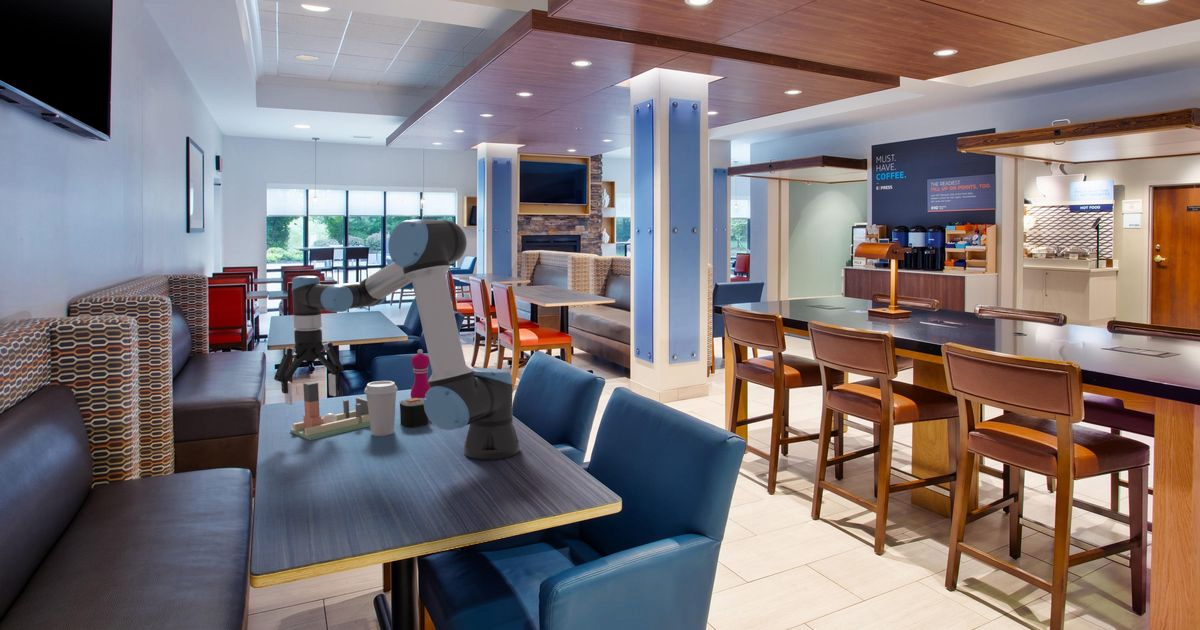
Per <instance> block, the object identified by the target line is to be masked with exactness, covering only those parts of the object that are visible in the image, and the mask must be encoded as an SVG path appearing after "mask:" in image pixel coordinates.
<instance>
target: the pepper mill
mask: <svg viewBox="0 0 1200 630" xmlns="http://www.w3.org/2000/svg"><path fill="white" fill-rule="evenodd" d="M423 352H424V350H423V349H422V348H421V349H420V348H419V349H418V350H417V353H416V354H414V355H413V356H412V358H411V361H410V362H411V365H412V367H413V369H412V370H413V371H412V372H413V374H414V383H413V384H412V385H413V386H412V387H411V390H410V398H412V399H413V398H418V399H419V398H422V399H423V398H425V394H426V393H427V391H428V390H429V389H430V387H429V382H428V372H429V365H430V359H429V355H428V354H425V353H423Z"/></svg>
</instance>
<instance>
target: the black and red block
mask: <svg viewBox="0 0 1200 630" xmlns="http://www.w3.org/2000/svg"><path fill="white" fill-rule="evenodd" d="M319 395H320V394H319V383H318V382H315V381H309V382H303V399H304V400H303V402H304V415H302V416H303V421H304V429H305V428H308V427H313V426H317V425H322V420H321V418H322V416H321V415H320V396H319Z"/></svg>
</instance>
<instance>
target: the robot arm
mask: <svg viewBox="0 0 1200 630" xmlns="http://www.w3.org/2000/svg"><path fill="white" fill-rule="evenodd" d="M467 244H468V243H467V236H466V233H465V231H464V230H463V228H462V227H461V226H459V225H458V224H457V223H456V222H454V221H452V220H450V219H449V220H447V219H419V218H415V219H414V218H413V219H409V220H408V219H406V220H403V221H400V222H399V223H397V224H396V225H395V226H394V228H393V229H392V232H391V233H390V235H389V238H388V246H387V247H388V253H389V257H390V259H391V261H392V262H391V263H389V264H387V265H386V266H384V267H383V268H382V269H379V270H378V271H376V272H375V273H373V274H371V275H369V276H368V277H366V278H364V279H363V280H361V281H357V282H347V283H346V282H345V283H334V284H326V283H325V284H321V282H320V281H321V280H320V277H318V276H317V275H299V276H294V277H292V280H291V281H292V282H291V285H292V286H291V293H292V294H291V295H292V308H293V310H292V311H293V327H294V329H295V330H294V331H293V333H294V334H293V335H294V337H293V338H294V346H293V347H287V346H286V347H284V349H283V355H282V359H281V361H280V362H279V366H278V367H277V370H276V373H275V375H274V378H273V380H274V381H277V382H280V383H281V392H282V394H284V400H285V401H284V402H285V404H286V405H289V406H292V405H293V393H292V391H293V390H292V382H291V381H290V380H291V378H292V376H293V375H294V374H295V373H296V371H297V370H298V368H299V367H300V366H301V364H303V363H304V362H308V361H316V360H317V361H319V362H320V363H321V364H322V365H323V367H325V368H326V369H327V370H328V371H329V372H330V373H328V375H327V376H328V377H327V378H328V395H329V396H333V397H336V396H337V385H338V384H339V377H338V375H340V373H341V372H344V370H345V369H344V366H343V365H342V363H341V361H340V358H338V356H337V354H336V352H335V350H334V345H333V342H329V341H325V343H323V330H322V329H321V328H322V311H324V312H331V313H343V312H346V311H348V310H352V309H358V308H366V307H371V308H372V307H375V306H378V305H379V306H380V305H382V304H383V303H384V302H385V299H386V298H387V296H389V295H391V294H393V293H395V292H397V291H398V290H400V289H402V288H404V287H406V286H407V285H409V284H411V283H412V284H411V285H412V287H413V292H414V297H415V300H416V305H417V306H416V307H417V309H418V314H419V318H420V324H421V328H422V331H423V336H424V340H425V344H426V345H425V346H426V351H427V353H428V354H427V356H428V357H429V360H430V362H429V365H430V367H431V368H430V369H431V371H432V372H431V375H430V376H429V378H428V379H427V381H428V383H429V387H430V389H429V390H428V391H427V393H426V394H425V398H424V410H425V413H426V415H427V417H428V421H430V422H431V424H433V425H435V426H436V428H438V429H440V430H444V431H453V430H456V429H462V428H464V427H466V426H467V425H469V427H468V431H467V435H466V439H465V441H464V443H463V453H464V456H466V457H467V458H468V457H469V458H471V459H474V460H475V459H476V460H483V461H487V460H488V461H490V460H491V461H493V460H501V459H503V460H504V459H507V458H510V457H513V456H516V455H517V454H518V453H519V452H520V441H519V439H518V435H517V432H516V429H515V427H514V423H513V420H514V419H513V418H514V417H513V415H514V414H513V413H514V412H513V407H514V406H513V386H514V384H513V375H512V374H511V372H510V371H508V370H506V369H502V368H500V369H499V368H492V367H491V368H490V367H489V368H488V367H476V368H475V367H474V368H471V367H469V366H468V365H467V363H466V360H465V355H464V351H463V345H462V343H461V342H462V341H461V337H460V332H459V329H458V325H457V319H456V316H455V311H454V307H453V306H454V305H453V302H452V297H451V293H450V290H449V289H450V288H449V285H448V281H447V276H446V275H447V273H448V271H449V270H450V268H451V266H450V265H452V264H454V263H456V262H457V261H459V260H460V259H461V258H462V257H463V256H464V253H465V252H466V249H467ZM323 350H325V351H326V353H327V356H328V357H329V359H330V361H331V362H330V361H329V360H328V359H327V358H326V356H325V355H324V354H323V353H322V351H323ZM294 353H295V356H294V358H293V357H292V356H293V355H294ZM292 358H293V361H292V362H291V360H292Z"/></svg>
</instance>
